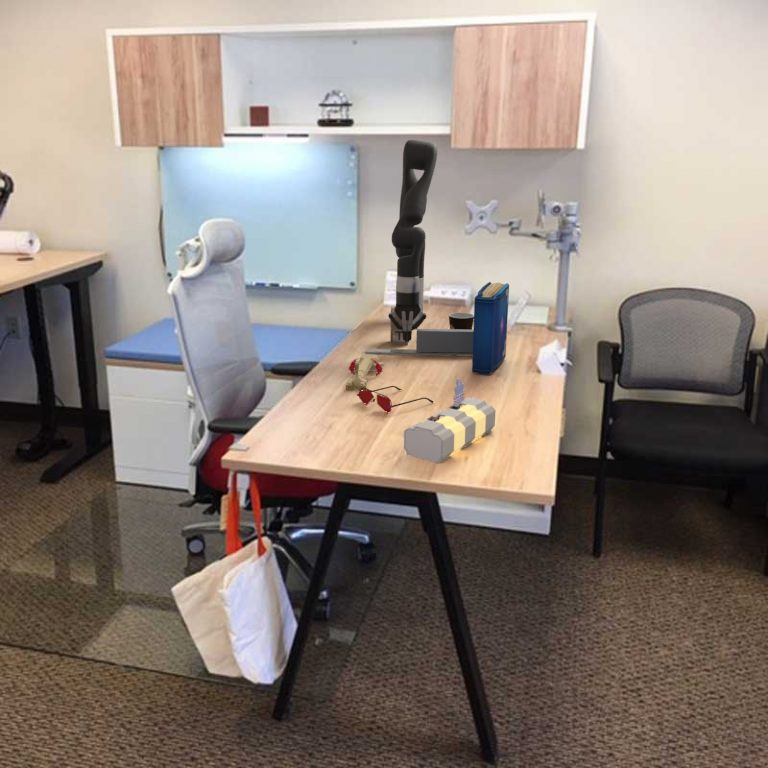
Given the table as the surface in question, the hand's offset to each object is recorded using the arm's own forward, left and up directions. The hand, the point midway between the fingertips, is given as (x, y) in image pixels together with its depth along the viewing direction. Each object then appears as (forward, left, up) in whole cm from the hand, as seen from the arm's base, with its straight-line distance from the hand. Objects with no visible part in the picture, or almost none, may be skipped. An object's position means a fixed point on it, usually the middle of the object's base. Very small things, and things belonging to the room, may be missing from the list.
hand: (406, 341), depth 269 cm
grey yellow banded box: (+78, +11, -5) cm, 79 cm away
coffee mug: (-15, +18, -4) cm, 24 cm away
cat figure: (+28, -13, -4) cm, 31 cm away
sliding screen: (0, +14, -4) cm, 15 cm away
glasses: (+50, -3, -5) cm, 50 cm away
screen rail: (0, +6, -4) cm, 8 cm away
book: (+14, +25, -4) cm, 29 cm away
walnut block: (-13, -3, -4) cm, 14 cm away
